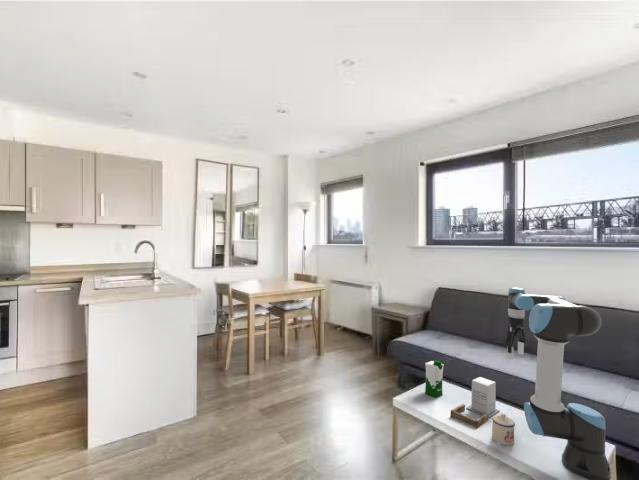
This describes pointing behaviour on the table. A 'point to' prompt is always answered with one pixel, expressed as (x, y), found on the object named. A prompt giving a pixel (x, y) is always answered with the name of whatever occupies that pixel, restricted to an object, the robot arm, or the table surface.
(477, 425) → the walnut cradle
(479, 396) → the supplement box
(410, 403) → the table surface
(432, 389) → the milk carton
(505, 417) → the teacup with lid
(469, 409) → the slate mat
